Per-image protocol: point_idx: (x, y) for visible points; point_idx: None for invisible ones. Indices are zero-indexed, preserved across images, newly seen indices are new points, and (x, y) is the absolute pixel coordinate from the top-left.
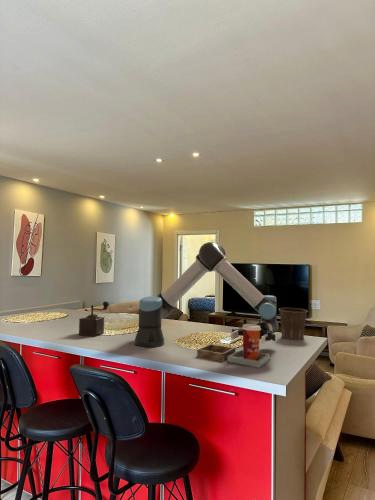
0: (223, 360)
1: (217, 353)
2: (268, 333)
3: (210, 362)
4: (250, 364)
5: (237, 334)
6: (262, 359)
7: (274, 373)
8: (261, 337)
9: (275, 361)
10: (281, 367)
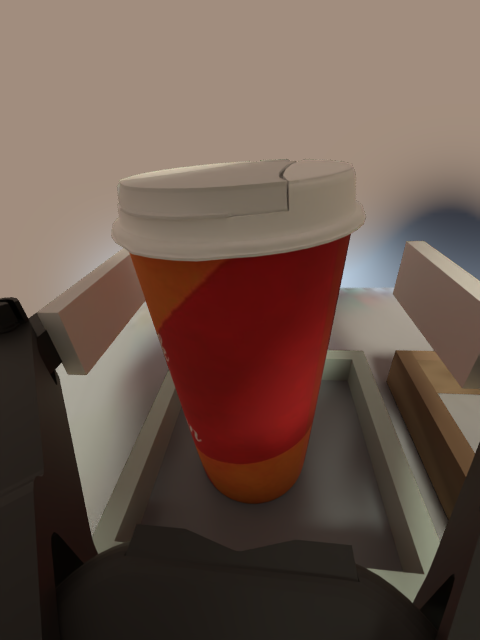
0: (388, 379)
1: None
2: (20, 304)
3: (415, 344)
4: None
5: (459, 344)
6: (162, 384)
7: (120, 346)
8: None
9: None
10: None
